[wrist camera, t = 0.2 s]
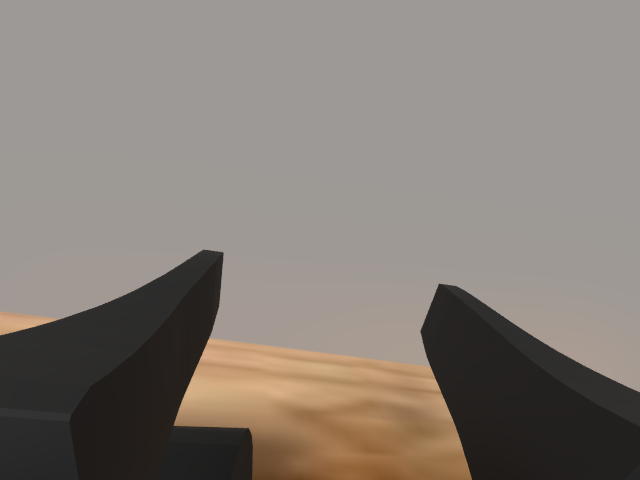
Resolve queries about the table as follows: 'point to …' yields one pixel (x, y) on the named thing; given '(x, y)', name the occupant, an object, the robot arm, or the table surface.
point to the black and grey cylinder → (207, 454)
